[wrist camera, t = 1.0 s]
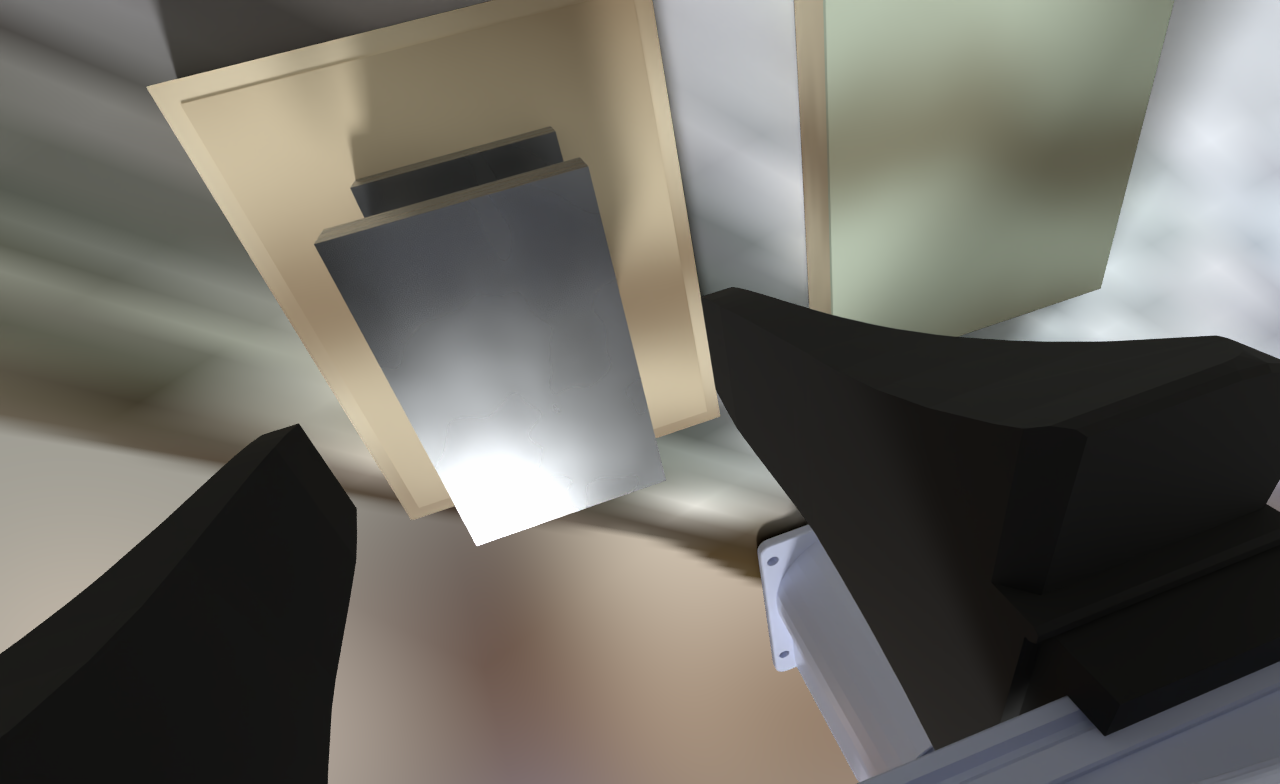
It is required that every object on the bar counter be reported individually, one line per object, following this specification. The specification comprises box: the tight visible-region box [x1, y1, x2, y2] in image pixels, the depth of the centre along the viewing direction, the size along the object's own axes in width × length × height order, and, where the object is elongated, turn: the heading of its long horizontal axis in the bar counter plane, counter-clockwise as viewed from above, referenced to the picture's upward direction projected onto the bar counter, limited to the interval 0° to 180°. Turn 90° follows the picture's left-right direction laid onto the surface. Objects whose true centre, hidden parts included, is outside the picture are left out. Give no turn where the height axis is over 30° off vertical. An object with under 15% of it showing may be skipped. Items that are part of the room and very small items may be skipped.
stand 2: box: [794, 0, 1174, 337], centre depth 17 cm, size 12×10×2 cm
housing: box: [314, 126, 666, 545], centre depth 13 cm, size 7×4×5 cm, turn 11°
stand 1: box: [147, 0, 720, 520], centre depth 16 cm, size 12×10×2 cm
